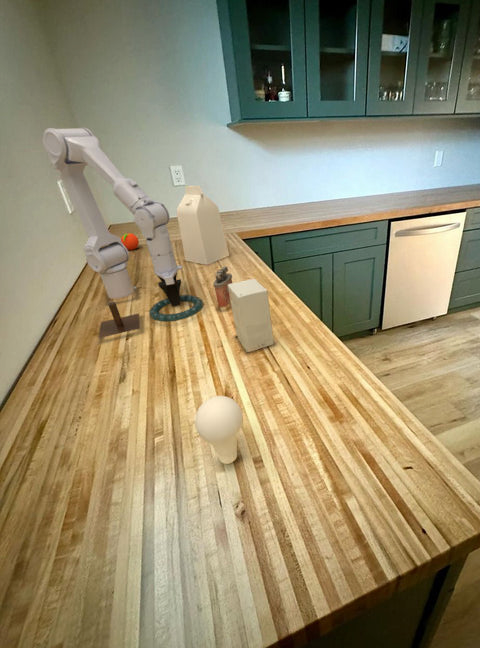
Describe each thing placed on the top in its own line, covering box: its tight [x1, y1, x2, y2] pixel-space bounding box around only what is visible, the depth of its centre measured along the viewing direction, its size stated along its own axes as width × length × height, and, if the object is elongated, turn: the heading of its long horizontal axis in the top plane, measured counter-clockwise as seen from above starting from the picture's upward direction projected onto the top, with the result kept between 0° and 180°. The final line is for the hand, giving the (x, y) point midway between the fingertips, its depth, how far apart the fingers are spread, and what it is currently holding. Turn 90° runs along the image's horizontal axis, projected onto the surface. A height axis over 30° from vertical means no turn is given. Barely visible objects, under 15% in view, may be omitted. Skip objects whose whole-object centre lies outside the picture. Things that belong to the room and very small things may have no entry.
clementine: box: [120, 232, 140, 251], centre depth 145 cm, size 8×7×7 cm
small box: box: [228, 278, 275, 353], centre depth 72 cm, size 8×6×13 cm
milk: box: [176, 185, 230, 266], centre depth 123 cm, size 12×12×26 cm
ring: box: [149, 294, 205, 323], centre depth 89 cm, size 14×14×2 cm
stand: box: [98, 301, 140, 339], centre depth 82 cm, size 9×9×7 cm
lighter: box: [212, 265, 233, 308], centre depth 90 cm, size 8×3×10 cm, turn 168°
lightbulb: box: [194, 395, 244, 465], centre depth 45 cm, size 6×6×11 cm
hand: (174, 300), depth 94 cm, fingers open, 6 cm apart
